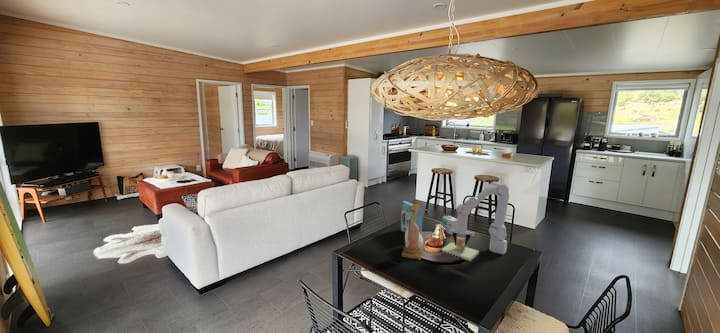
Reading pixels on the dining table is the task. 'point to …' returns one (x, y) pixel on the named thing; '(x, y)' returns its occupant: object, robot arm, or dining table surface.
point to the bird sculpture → (413, 236)
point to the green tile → (460, 252)
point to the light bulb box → (449, 223)
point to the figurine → (418, 241)
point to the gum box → (408, 214)
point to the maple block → (460, 243)
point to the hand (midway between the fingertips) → (460, 245)
